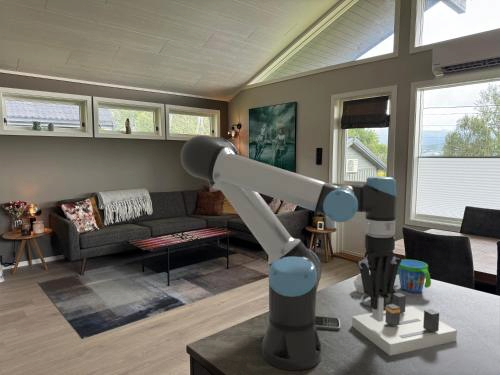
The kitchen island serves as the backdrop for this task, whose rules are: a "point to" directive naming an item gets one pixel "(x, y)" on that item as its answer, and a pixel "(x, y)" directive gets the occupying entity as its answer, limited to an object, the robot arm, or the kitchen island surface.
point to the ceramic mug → (388, 302)
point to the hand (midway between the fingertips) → (377, 319)
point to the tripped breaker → (392, 315)
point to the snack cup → (413, 275)
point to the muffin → (359, 284)
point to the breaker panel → (402, 332)
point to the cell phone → (327, 323)
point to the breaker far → (399, 301)
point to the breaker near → (431, 320)
